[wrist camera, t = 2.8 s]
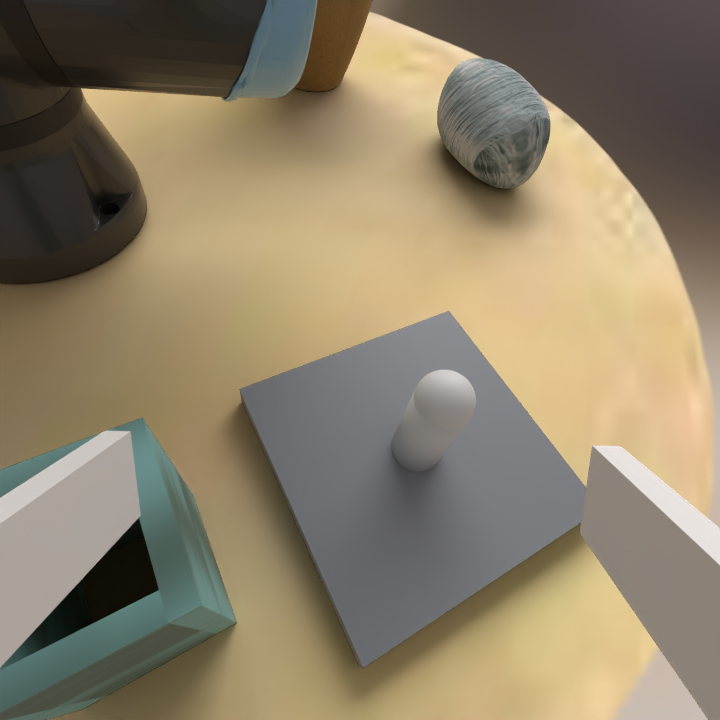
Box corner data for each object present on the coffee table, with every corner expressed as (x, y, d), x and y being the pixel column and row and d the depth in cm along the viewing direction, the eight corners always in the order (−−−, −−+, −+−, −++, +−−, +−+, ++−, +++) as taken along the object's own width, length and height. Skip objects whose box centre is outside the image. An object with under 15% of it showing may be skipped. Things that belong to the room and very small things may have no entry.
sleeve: (54, 556, 23) (-87, 501, 14) (192, 495, 25) (142, 417, 17) (82, 709, 20) (-77, 753, 11) (236, 622, 22) (201, 605, 14)
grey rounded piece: (577, 172, 42) (571, 59, 35) (482, 219, 43) (458, 118, 36) (513, 127, 52) (498, 31, 45) (437, 166, 53) (411, 79, 46)
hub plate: (241, 400, 29) (222, 311, 21) (443, 323, 34) (484, 231, 27) (359, 666, 22) (393, 675, 14) (587, 514, 27) (699, 463, 20)
